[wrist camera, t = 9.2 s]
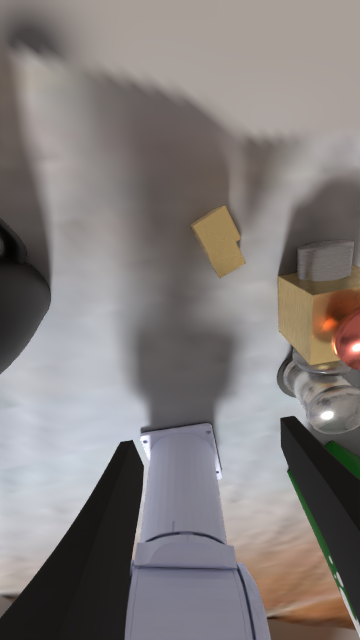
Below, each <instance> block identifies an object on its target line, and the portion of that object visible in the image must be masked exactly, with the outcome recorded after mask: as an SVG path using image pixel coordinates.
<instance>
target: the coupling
mask: <svg viewBox="0 0 360 640" xmlns="http://www.w3.org/2000/svg"><path fill="white" fill-rule="evenodd" d="M282 379H283V382H284V383H285V385H286V386H287V388H288V389H289V390H290V391H292V392H293V393H294V394H295V396H296V397H297V399H298V400H299V402H300V403H301V405H302V406H303V408H304V409H305V411H306V415H307V418H308V420H309V422H310V423H311V425H312V426H313V427H314V429H316V430H317V431H319V432H321V433H324V434H342V433H345V432H348V431H351V430H353V429H355V428H357V427H358V426H360V389H358V388H357V387H354V386H352V385H351V384H350V383H349V382H348V381H346V380H345V379H344V378H343V377H342V376H341V375H340V376H332V377H328V376H319V375H314V374H311V373H308V372H306V371H304V370H302V369H300V368H299V367H298V366H297V365H296V364H295V363H294V361H293V358H292V359H291V360H290V361H289V362H288V363H287V364H286V365H285V367H284V369H283V372H282Z"/></svg>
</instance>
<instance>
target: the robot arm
mask: <svg viewBox="0 0 360 640" xmlns="http://www.w3.org/2000/svg"><path fill="white" fill-rule="evenodd" d="M280 421H281V448H282V450H283V453H284V456H285V458H286V461H287V463H288V466H289V468H290V471H291V473H292V475H293V477H294V479H295V481H296V483H297V485H298V487H299V489H300V491H301V493H302V495H303V497H304V499H305V502H306V504H307V506H308V508H309V510H310V512H311V514H312V516H313V518H314V520H315V522H316V524H317V526H318V528H319V530H320V532H321V534H322V536H323V538H324V540H325V542H326V545H327V547H328V549H329V551H330V554H331V556H332V559H333V561H334V563H335V566H336V568H337V571H338V573H339V575H340V578H341V580H342V583H343V585H344V588H345V590H346V593H347V595H348V598H349V600H350V603H351V605H352V607H353V610H354V612H355V615H356V617H357V620H358V622H359V625H360V479H359V478H358V477H356V476H355V475H354V474H353V473H352V472H351V471H350V470H349V469H347V468H346V467H345V466H344V465H343V464H342V463H341V462H340V461H339V460H338V459H337V458H336V457H335V456H334V455H332V454H331V453H330V452H329V451H328V450H327V449H326V448H325V447H324V446H323V445H322V444H321V443H320V442H319V441H318V440H317V439H316V438H315V437H314V436H313V435H312V434H311V433H310V432H309V431H308V430H307V429H306V428H305V427H304V426H303V424H302V423H301V422H300V421H299V420H298V419H297V418H296V417H295V416H290V417H283V418H280ZM140 441H141V443H142V445H143V448H144V450H145V453H146V455H147V458H148V460H149V470H148V478H147V486H146V494H145V503H144V511H143V519H142V527H141V535H140V543H137V546H136V553H135V561H134V560H133V559H132V552H133V546H134V540H135V534H136V528H137V522H138V516H139V509H140V503H141V497H142V489H143V473H144V465H143V463H142V461H141V458H140V456H139V454H138V451H137V449H136V447H135V444H134V442H133V440H130V441H124V442H120V444H119V446H118V447H117V449H116V451H115V453H114V455H113V457H112V459H111V460H110V462H109V464H108V466H107V468H106V469H105V471H104V473H103V475H102V477H101V478H100V480H99V482H98V483H97V485H96V487H95V489H94V490H93V492H92V494H91V495H90V497H89V499H88V500H87V502H86V503H85V505H84V507H83V508H82V510H81V511H80V513H79V514H78V516H77V518H76V519H75V521H74V522H73V524H72V525H71V527H70V528H69V530H68V531H67V533H66V534H65V536H64V537H63V538H62V540H61V541H60V543H59V544H58V545H57V547H56V548H55V550H54V551H53V552H52V554H51V555H50V556H49V558H48V559H47V560H46V562H45V563H44V564H43V566H42V567H41V568H40V570H39V571H38V572H37V574H36V575H35V576H34V578H33V579H32V580H31V581H30V583H29V584H28V585H27V586H26V588H25V589H24V590H23V591H22V593H21V594H20V595H19V596H18V597H17V599H16V600H15V601H14V602H13V603H12V605H11V606H10V607H9V608H8V610H7V611H6V612H5V613H4V614H3V616H2V617H1V618H0V640H271V638H270V633H269V627H268V623H267V618H266V614H265V610H264V606H263V602H262V599H261V596H260V593H259V590H258V587H257V585H256V582H255V580H254V578H253V577H252V576H251V574H250V573H249V571H248V569H247V568H246V566H245V565H244V564H243V563H241V562H236V557H235V551H234V546H233V545H227V540H226V533H225V527H224V520H223V513H222V507H221V500H220V493H219V487H218V480H219V479H221V478H222V473H221V468H220V463H219V458H218V454H217V449H216V444H215V439H214V434H213V430H212V425H211V424H209V423H204V424H198V425H191V426H184V427H178V428H171V429H165V430H158V431H152V432H145V433H142V434H141V435H140Z"/></svg>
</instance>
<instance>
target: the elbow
mask: <svg viewBox="0 0 360 640" xmlns="http://www.w3.org/2000/svg"><path fill="white" fill-rule="evenodd" d="M190 227H191V229H192V230H193V232H194V234H195V236H196V238H197V239H198V241H199V243H200V245H201V247H202V248H203V250H204V252H205V254H206V256H207V257H208V259H209V261H210V263H211V265H212V266H213V268H214V270H215V272H216V273H217V275H218V276H219V277H220V278H221V277H223V276H225V275H226V274H228V273H230V272H231V271H233V270H235V269H236V268H238V267H240V266H242V265H243V264H245V263H246V262H245V260H244V258H243V256H242V254H241V252H240V250H239V248H238V246H237V243H236V241H238V240H240V239H241V237H240V235H239V233H238V231H237V229H236V227H235V225H234V223H233V221H232V218H231V216H230V214H229V212H228V210H227V208H226V206H225V205H224V206H221V207H218V208H215V209H213V210H212V211H210V212H209V213H207V214H206V215H204V216H203V217H201V218H200V219H198V220H197V221H195V222H194V223H192V224H191V225H190Z"/></svg>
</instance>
